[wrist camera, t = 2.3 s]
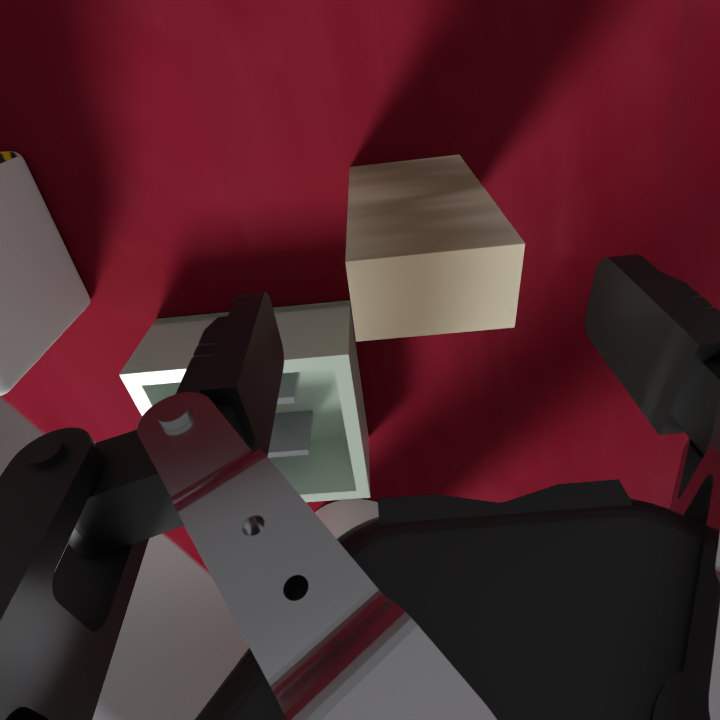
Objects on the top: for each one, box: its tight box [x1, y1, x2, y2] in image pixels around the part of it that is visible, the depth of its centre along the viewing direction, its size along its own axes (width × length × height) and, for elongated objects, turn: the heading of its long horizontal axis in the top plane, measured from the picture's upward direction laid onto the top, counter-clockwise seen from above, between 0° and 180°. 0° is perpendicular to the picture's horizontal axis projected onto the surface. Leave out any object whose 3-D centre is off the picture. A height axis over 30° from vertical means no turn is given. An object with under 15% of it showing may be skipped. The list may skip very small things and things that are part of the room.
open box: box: [119, 300, 370, 502], centre depth 24 cm, size 10×10×4 cm
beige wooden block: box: [345, 155, 525, 342], centre depth 16 cm, size 4×2×9 cm, turn 96°
